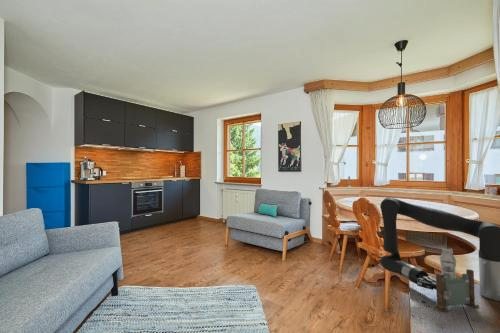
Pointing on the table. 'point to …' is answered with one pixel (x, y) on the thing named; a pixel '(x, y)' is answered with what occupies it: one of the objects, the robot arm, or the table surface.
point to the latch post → (441, 293)
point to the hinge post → (471, 289)
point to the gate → (457, 290)
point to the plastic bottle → (448, 263)
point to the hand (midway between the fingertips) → (447, 291)
